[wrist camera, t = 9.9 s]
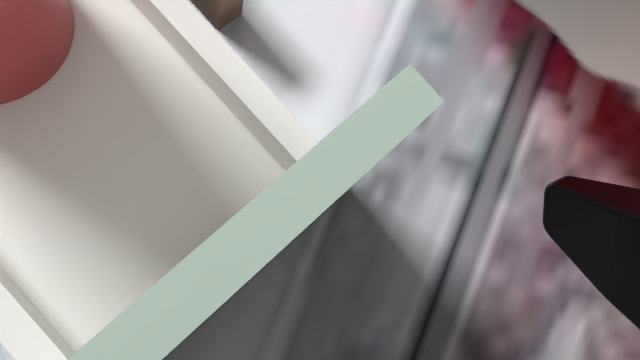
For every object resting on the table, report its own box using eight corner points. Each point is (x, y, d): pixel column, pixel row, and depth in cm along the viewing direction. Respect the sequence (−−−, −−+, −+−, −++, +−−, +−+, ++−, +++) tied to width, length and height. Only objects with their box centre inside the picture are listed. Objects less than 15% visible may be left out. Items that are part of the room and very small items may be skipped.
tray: (350, 186, 23) (445, 101, 14) (76, 437, 19) (-22, 527, 10) (35, -158, 24) (-57, -436, 15) (-289, 18, 20) (-660, -221, 11)
